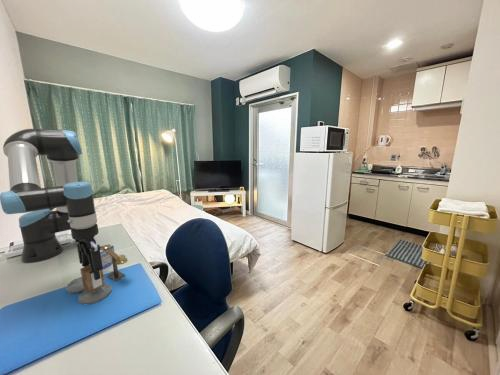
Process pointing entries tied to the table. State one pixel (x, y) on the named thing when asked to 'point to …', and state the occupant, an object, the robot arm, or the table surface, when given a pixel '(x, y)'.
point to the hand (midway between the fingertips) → (94, 283)
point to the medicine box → (106, 257)
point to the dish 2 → (95, 295)
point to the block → (88, 281)
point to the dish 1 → (75, 286)
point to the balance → (115, 262)
